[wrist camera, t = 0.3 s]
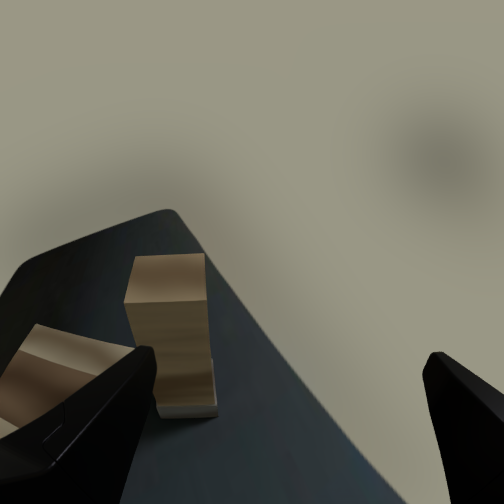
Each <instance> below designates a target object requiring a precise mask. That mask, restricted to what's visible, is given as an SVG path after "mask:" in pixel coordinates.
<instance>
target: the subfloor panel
mask: <svg viewBox="0 0 504 504" xmlns="http://www.w3.org/2000/svg"><path fill="white" fill-rule="evenodd" d="M134 349H135V348H130V347H125V346H121V345H116V344H111V343H107V342H103V341H98V340H94V339H90V338H86V337H82V336H78V335H74V334H70V333H66V332H63V331H59V330H55V329H52V328H48V327H45V326H42V325H38V324H36V325H35V326H34V328H33V329H32V330H31V332H30V333H29V335H28V336H27V338H26V339H25V341H24V342H23V344H22V345H21V347H20V348H19V350H18V351H17V353H16V354H15V356H14V357H13V359H12V360H11V362H10V363H9V365H8V367H7V368H6V370H5V371H4V373H3V375H2V376H1V378H0V438H2V437H4V436H6V435H8V434H10V433H12V432H14V431H15V430H17V429H19V428H21V427H23V426H24V425H26V424H28V423H30V422H31V421H33V420H35V419H37V418H38V417H40V416H42V415H43V414H45V413H46V412H48V411H49V410H51V409H52V408H53V407H55V406H56V405H58V404H59V403H60V402H62V401H63V402H64V400H65V399H66V398H68V397H69V396H70V395H72V394H73V393H74V392H76V391H77V390H79V389H80V388H81V387H83V386H84V385H86V384H87V383H88V382H90V381H91V380H92V379H94V378H95V377H97V376H98V375H99V374H101V373H102V372H103V371H105V370H106V369H108V368H109V367H110V366H112V365H113V364H114V363H116V362H117V361H119V360H120V359H121V358H123V357H124V356H125V355H127V354H128V353H130V352H131V351H132V350H134Z"/></svg>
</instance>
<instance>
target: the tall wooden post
mask: <svg viewBox="0 0 504 504" xmlns="http://www.w3.org/2000/svg"><path fill="white" fill-rule="evenodd" d="M124 305H125V309H126V313H127V316H128V320H129V323H130V326H131V330H132V333H133V336H134V339H135V342H136V346H137V347H138V346H139V345H146V346H151V347H153V349H154V353H155V358H156V362H157V374H156V379H155V383H154V388H153V394H154V397H155V399H156V408H157V411H158V413H159V415H160V418H161V419H176V418H205V417H218V409H217V399H216V389H215V379H214V368H213V359H211V353H210V341H209V327H208V313H207V297H206V280H205V261H204V253H202V254H180V255H158V256H136V257H135V261H134V264H133V268H132V272H131V276H130V280H129V284H128V288H127V292H126V296H125V300H124Z"/></svg>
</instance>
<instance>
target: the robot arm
mask: <svg viewBox="0 0 504 504" xmlns="http://www.w3.org/2000/svg"><path fill="white" fill-rule="evenodd" d="M156 374H157V362H156V358H155V353H154V349H153V347H151V346H146V345H139V346H138V347H136V348H135V349H134V350H132V351H131V352H130V353H128V354H127V355H125V356H124V357H123V358H121V359H120V360H119V361H117V362H116V363H114V364H113V365H112V366H110V367H109V368H108V369H106V370H105V371H103V372H102V373H101V374H99V375H98V376H97V377H95V378H94V379H92V380H91V381H90V382H88V383H87V384H86V385H84V386H83V387H81V388H80V389H79V390H77V391H76V392H74V393H73V394H72V395H70V396H69V397H68V398H66V399H65V400H64V402H63V401H62V402H60V403H59V404H58V405H56V406H55V407H53V408H52V409H51V410H49V411H48V412H46V413H45V414H43V415H42V416H40V417H38V418H37V419H35V420H33V421H31V422H30V423H28V424H26V425H24V426H23V427H21V428H19V429H17V430H15V431H14V432H12V433H10V434H8V435H6V436H4V437H2V438H0V504H119V503H120V499H121V496H122V493H123V489H124V486H125V483H126V480H127V476H128V473H129V470H130V467H131V464H132V460H133V457H134V454H135V451H136V448H137V445H138V442H139V439H140V436H141V433H142V430H143V427H144V424H145V421H146V418H147V415H148V411H149V407H150V402H151V397H152V393H153V388H154V383H155V379H156ZM422 376H423V382H424V387H425V392H426V397H427V402H428V407H429V412H430V416H431V420H432V423H433V427H434V431H435V434H436V438H437V442H438V446H439V450H440V454H441V458H442V462H443V466H444V471H445V476H446V481H447V485H448V490H449V496H450V501H451V504H504V394H502V393H501V392H499V391H498V390H497V389H495V388H494V387H492V386H491V385H490V384H488V383H487V382H485V381H484V380H482V379H481V378H480V377H478V376H477V375H475V374H474V373H472V372H471V371H470V370H468V369H467V368H465V367H464V366H462V365H461V364H460V363H458V362H457V361H455V360H454V359H452V358H451V357H449V356H448V355H447V354H445V353H444V352H433V353H431V354H430V356H429V358H428V360H427V363H426V365H425V367H424V369H423V373H422Z"/></svg>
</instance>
